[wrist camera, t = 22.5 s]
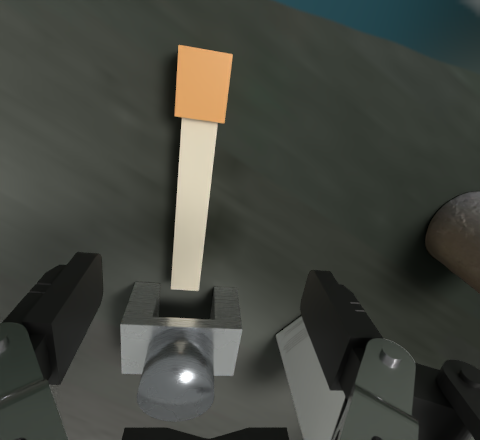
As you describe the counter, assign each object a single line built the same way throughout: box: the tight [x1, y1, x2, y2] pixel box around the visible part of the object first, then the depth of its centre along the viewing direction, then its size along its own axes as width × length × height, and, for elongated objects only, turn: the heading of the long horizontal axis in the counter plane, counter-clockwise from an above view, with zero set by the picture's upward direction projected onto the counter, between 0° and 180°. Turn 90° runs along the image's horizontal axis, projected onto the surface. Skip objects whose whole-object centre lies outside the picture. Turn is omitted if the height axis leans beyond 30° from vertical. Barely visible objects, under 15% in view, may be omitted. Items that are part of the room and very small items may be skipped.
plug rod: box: [171, 45, 233, 291], centre depth 29 cm, size 4×23×4 cm, turn 172°
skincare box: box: [276, 316, 345, 440], centre depth 34 cm, size 8×7×16 cm
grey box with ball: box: [120, 282, 242, 421], centre depth 32 cm, size 12×7×12 cm, turn 82°
